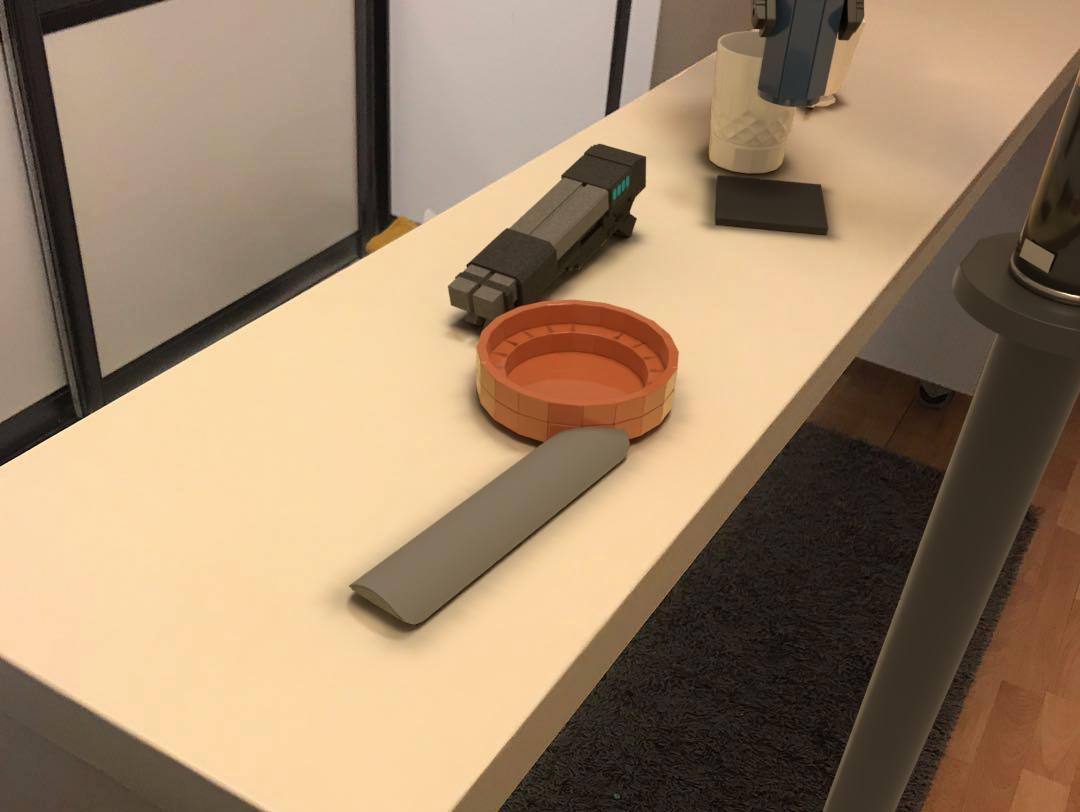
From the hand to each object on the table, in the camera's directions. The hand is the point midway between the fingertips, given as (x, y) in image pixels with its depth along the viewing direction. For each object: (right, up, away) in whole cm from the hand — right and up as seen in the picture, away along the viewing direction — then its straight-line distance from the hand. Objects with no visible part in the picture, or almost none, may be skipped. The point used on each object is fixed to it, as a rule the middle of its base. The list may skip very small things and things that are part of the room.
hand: (808, 32), depth 79 cm
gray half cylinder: (-22, -37, -22) cm, 48 cm away
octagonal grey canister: (0, -3, +5) cm, 6 cm away
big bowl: (-18, -29, -12) cm, 36 cm away
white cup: (-1, -3, +19) cm, 19 cm away
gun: (-19, -19, 0) cm, 27 cm away
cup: (+8, +7, +31) cm, 33 cm away
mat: (-1, -10, +11) cm, 14 cm away
